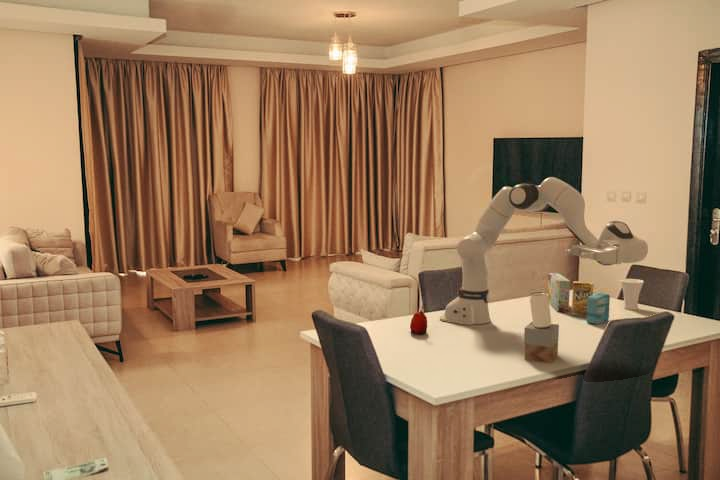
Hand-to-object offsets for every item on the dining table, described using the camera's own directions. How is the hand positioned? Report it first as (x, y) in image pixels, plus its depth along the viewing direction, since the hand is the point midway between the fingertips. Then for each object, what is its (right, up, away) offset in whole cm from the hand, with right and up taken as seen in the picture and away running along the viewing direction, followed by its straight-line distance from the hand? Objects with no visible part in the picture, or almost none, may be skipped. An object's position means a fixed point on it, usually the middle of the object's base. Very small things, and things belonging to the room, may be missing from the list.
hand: (574, 253), depth 255 cm
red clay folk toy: (-53, -34, +37) cm, 73 cm away
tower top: (-12, -32, +1) cm, 34 cm away
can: (-12, -26, 0) cm, 29 cm away
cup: (+51, -28, +79) cm, 98 cm away
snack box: (+17, -28, +83) cm, 89 cm away
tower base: (-11, -38, +2) cm, 40 cm away
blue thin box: (+27, -31, +54) cm, 68 cm away
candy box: (+24, -30, +66) cm, 77 cm away
